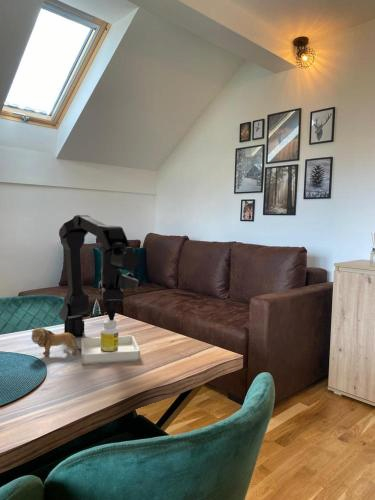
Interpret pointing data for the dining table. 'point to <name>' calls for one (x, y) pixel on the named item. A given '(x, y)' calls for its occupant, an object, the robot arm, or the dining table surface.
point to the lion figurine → (53, 340)
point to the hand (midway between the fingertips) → (110, 316)
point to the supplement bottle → (109, 337)
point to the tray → (125, 352)
